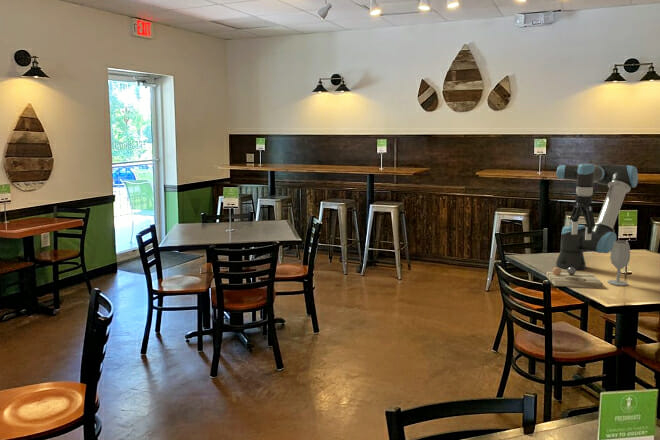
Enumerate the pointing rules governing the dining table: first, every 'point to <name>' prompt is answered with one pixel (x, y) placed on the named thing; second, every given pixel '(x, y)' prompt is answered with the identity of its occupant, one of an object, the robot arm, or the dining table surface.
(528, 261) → the dining table surface
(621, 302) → the dining table surface
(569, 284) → the board
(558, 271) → the terracotta ball
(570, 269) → the steel ball
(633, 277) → the dining table surface
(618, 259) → the wineglass
